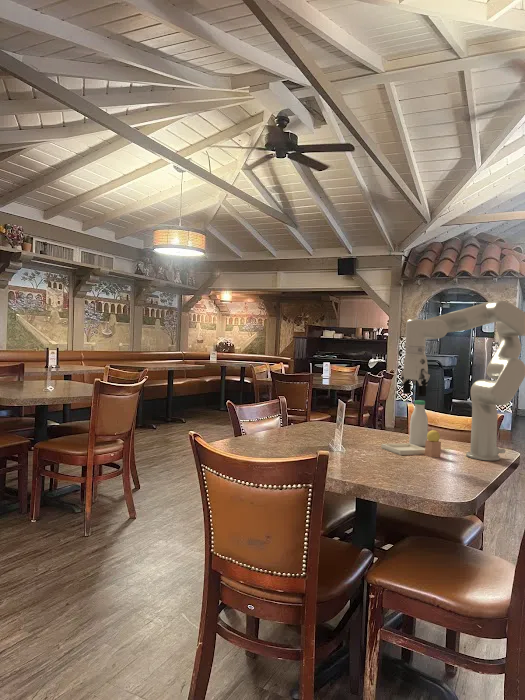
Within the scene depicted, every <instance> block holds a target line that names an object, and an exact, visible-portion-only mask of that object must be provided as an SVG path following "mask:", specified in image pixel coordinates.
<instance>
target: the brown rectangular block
mask: <svg viewBox="0 0 525 700" xmlns="http://www.w3.org/2000/svg"><path fill="white" fill-rule="evenodd" d="M424 448H425V454H424V456H427V457H430V458H441V450H442V449H441V448H442V441H440V440H439V441H438V442H431V441H429V440H428V439H427V440H426V443H425V446H424Z"/></svg>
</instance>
